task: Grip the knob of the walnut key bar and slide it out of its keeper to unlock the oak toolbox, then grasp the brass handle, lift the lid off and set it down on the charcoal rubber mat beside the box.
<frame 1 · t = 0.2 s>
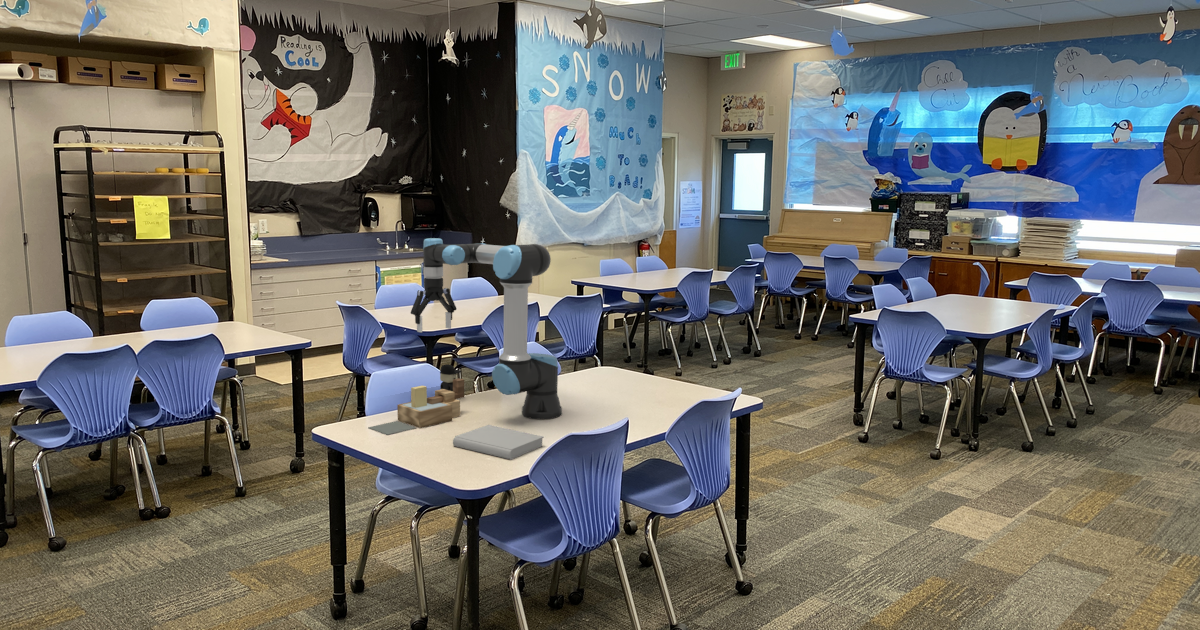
hand: (434, 330, 344), 28 cm above the table, fingers open, 13 cm apart
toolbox: (425, 420, 314), on the table
mat: (392, 428, 304), on the table
lid: (424, 407, 313), point 5 cm above the table, touching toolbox
book: (498, 448, 285), on the table
toy: (451, 401, 343), on the table
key: (445, 391, 319), point 10 cm above the table, slide at 0.0 cm
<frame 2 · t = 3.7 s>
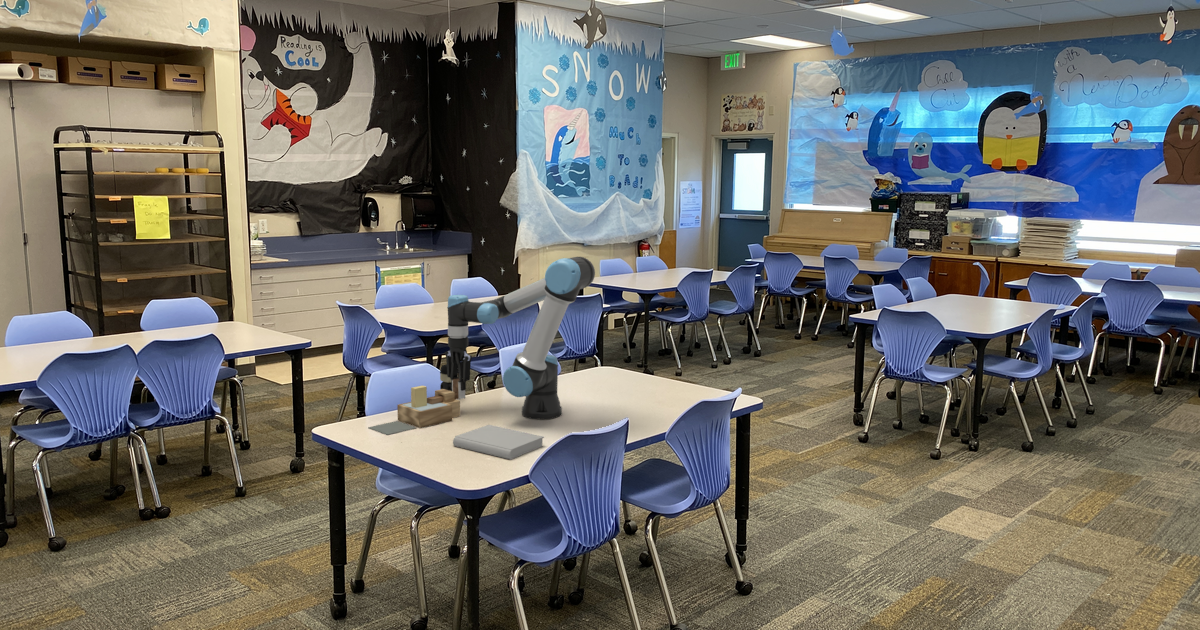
hand: (458, 397, 324), 6 cm above the table, fingers closed on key, 3 cm apart
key: (445, 391, 319), point 10 cm above the table, slide at 0.0 cm, touching gripper
everything else where it was.
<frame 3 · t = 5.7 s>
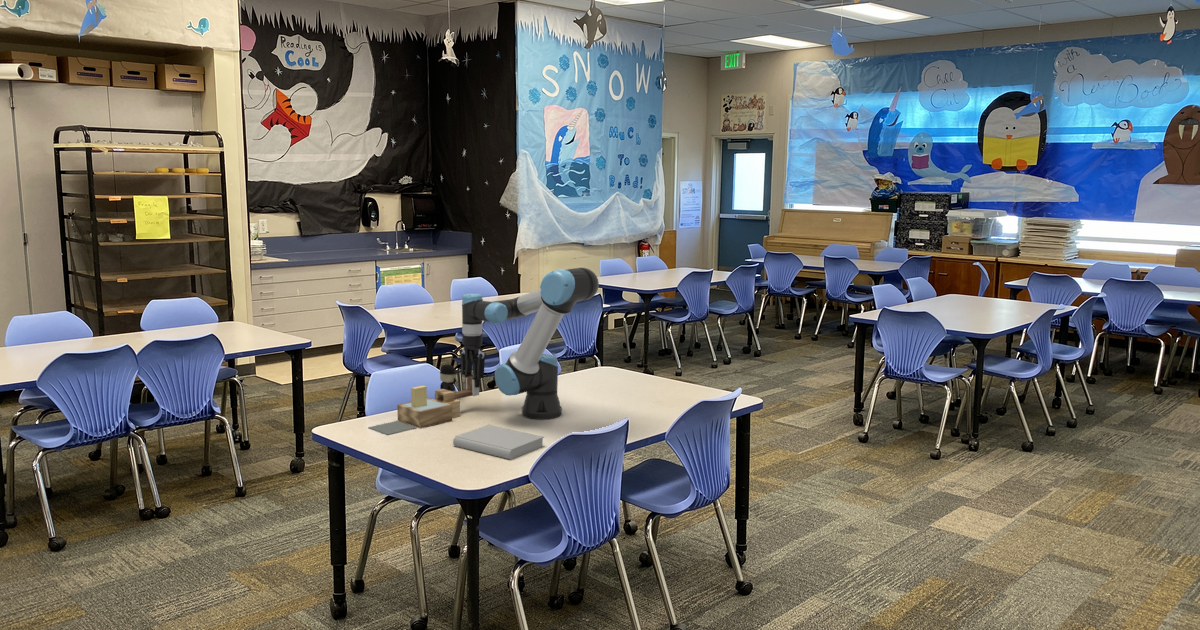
hand: (472, 394, 329), 6 cm above the table, fingers closed on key, 3 cm apart
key: (460, 388, 324), point 10 cm above the table, slide at 6.7 cm, touching gripper
everything else where it was.
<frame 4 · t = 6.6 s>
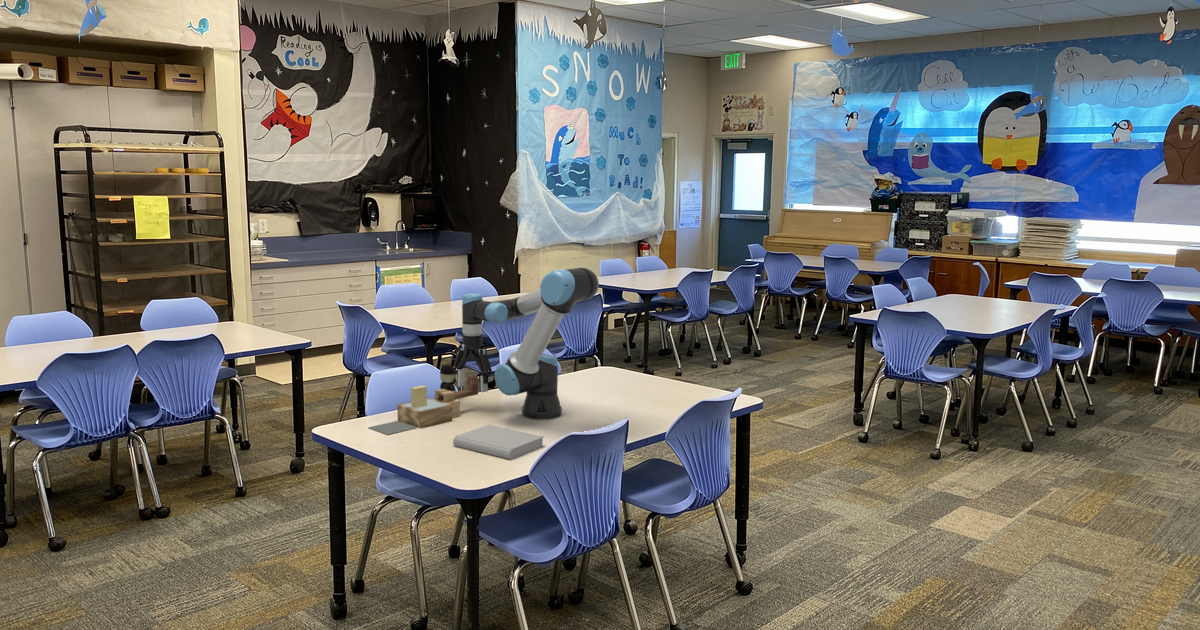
hand: (472, 388, 329), 8 cm above the table, fingers open, 13 cm apart
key: (460, 388, 324), point 10 cm above the table, slide at 6.7 cm
everything else where it was.
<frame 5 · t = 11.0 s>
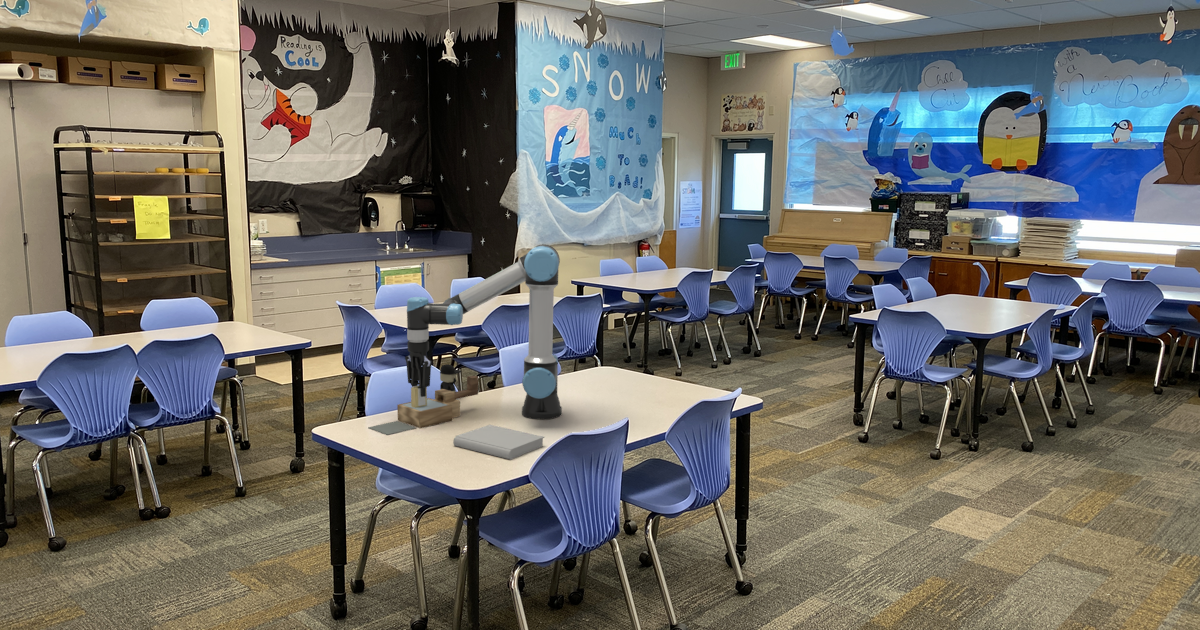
hand: (419, 404, 311), 7 cm above the table, fingers closed on lid, 2 cm apart
lid: (424, 407, 313), point 5 cm above the table, touching gripper, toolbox
everything else where it was.
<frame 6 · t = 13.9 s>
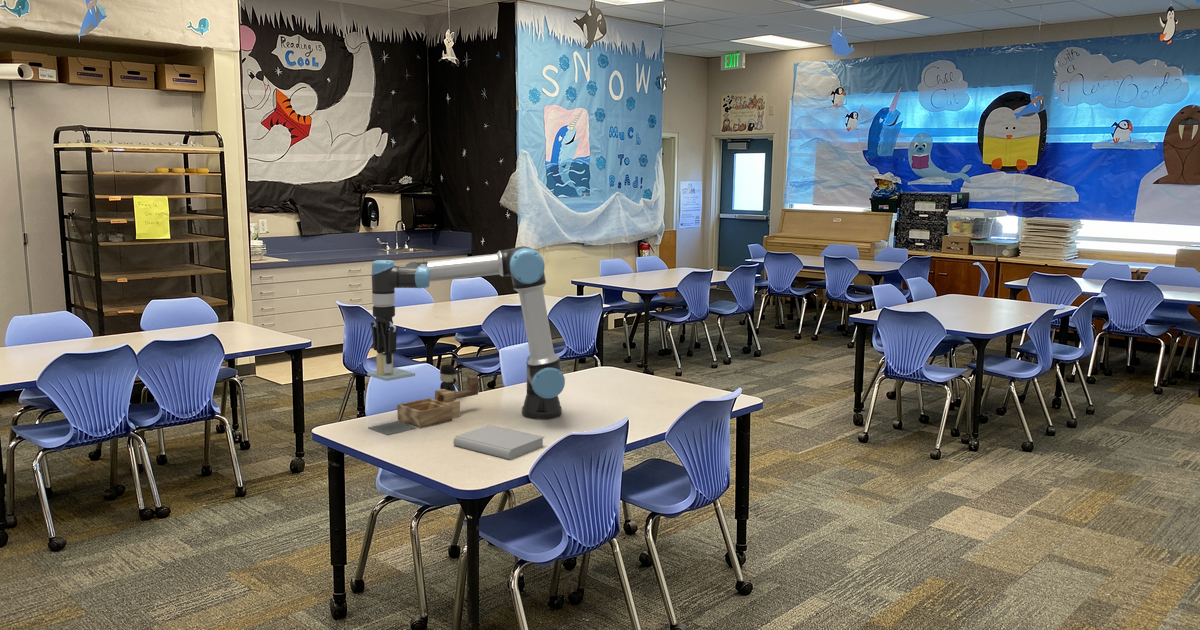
hand: (385, 371, 299), 21 cm above the table, fingers closed on lid, 2 cm apart
lid: (391, 375, 301), point 19 cm above the table, touching gripper
everything else where it was.
when the fingers open (3 cm above the table, at t = 17.1 s): lid drops 1 cm, resting on mat.
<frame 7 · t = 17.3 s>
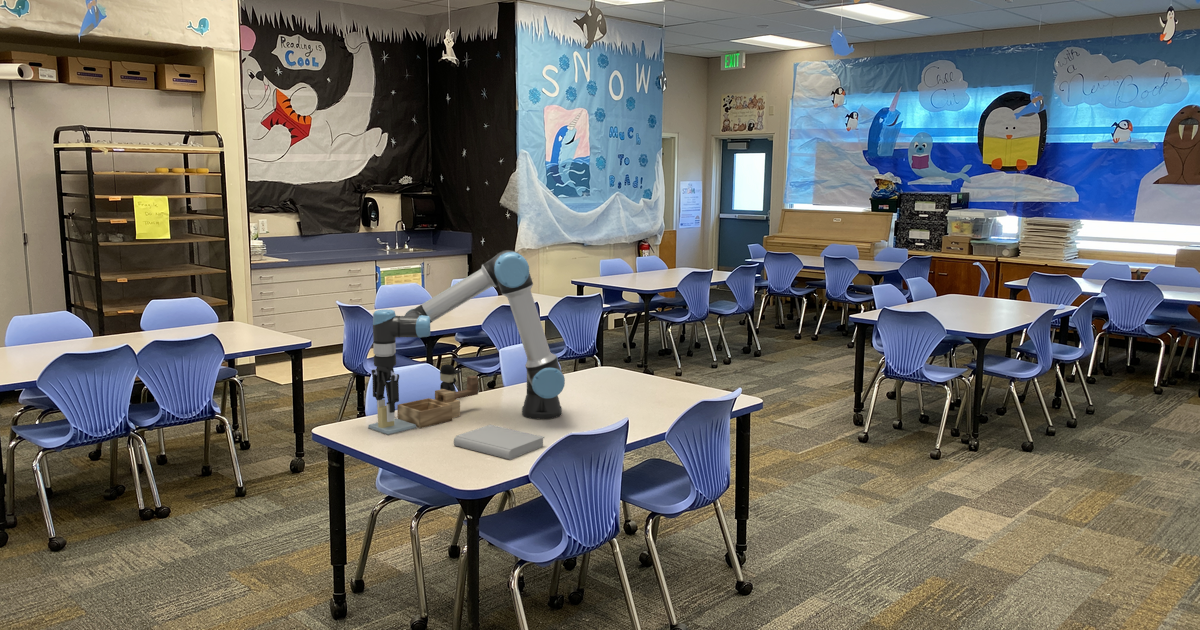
hand: (386, 419, 301), 4 cm above the table, fingers open, 5 cm apart
lid: (392, 427, 304), resting on mat
everything else where it was.
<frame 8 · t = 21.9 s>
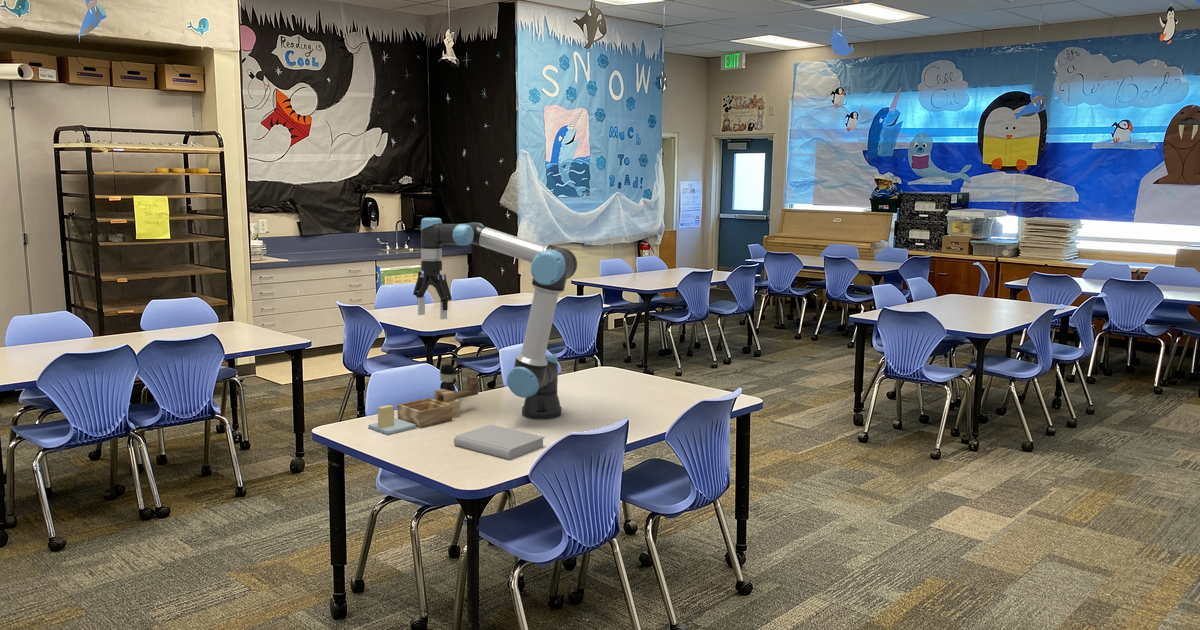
hand: (432, 316, 320), 37 cm above the table, fingers open, 13 cm apart
nothing on the table moved.
at the end: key slide at 6.7 cm; lid inside the target area on the mat (0.0 cm from its centre), point 0.3 cm above the mat's base; lid tilted 0° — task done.
